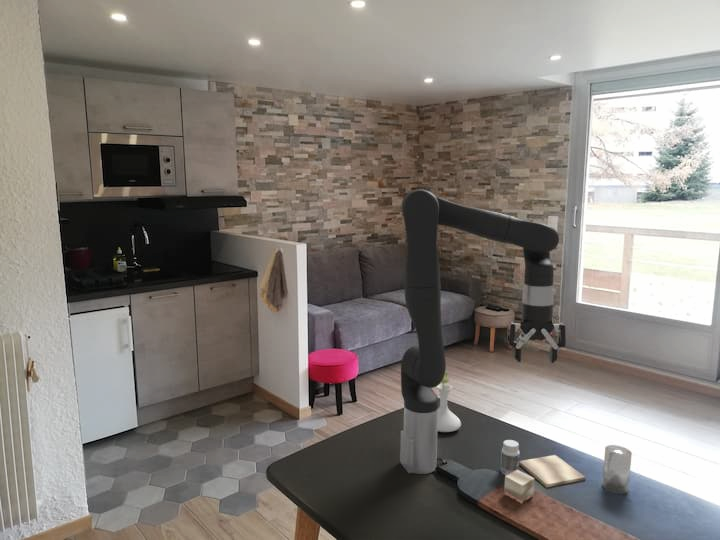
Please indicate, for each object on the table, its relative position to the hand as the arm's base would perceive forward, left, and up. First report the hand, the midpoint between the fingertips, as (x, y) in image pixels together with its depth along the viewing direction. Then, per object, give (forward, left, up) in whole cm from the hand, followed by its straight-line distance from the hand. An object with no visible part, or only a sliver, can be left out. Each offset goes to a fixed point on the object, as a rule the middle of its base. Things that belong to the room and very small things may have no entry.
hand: (535, 361), depth 134 cm
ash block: (-9, -9, -31) cm, 34 cm away
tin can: (+17, -13, -31) cm, 37 cm away
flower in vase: (-11, +30, -31) cm, 44 cm away
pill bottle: (-5, +1, -31) cm, 32 cm away
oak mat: (+6, -2, -31) cm, 31 cm away
